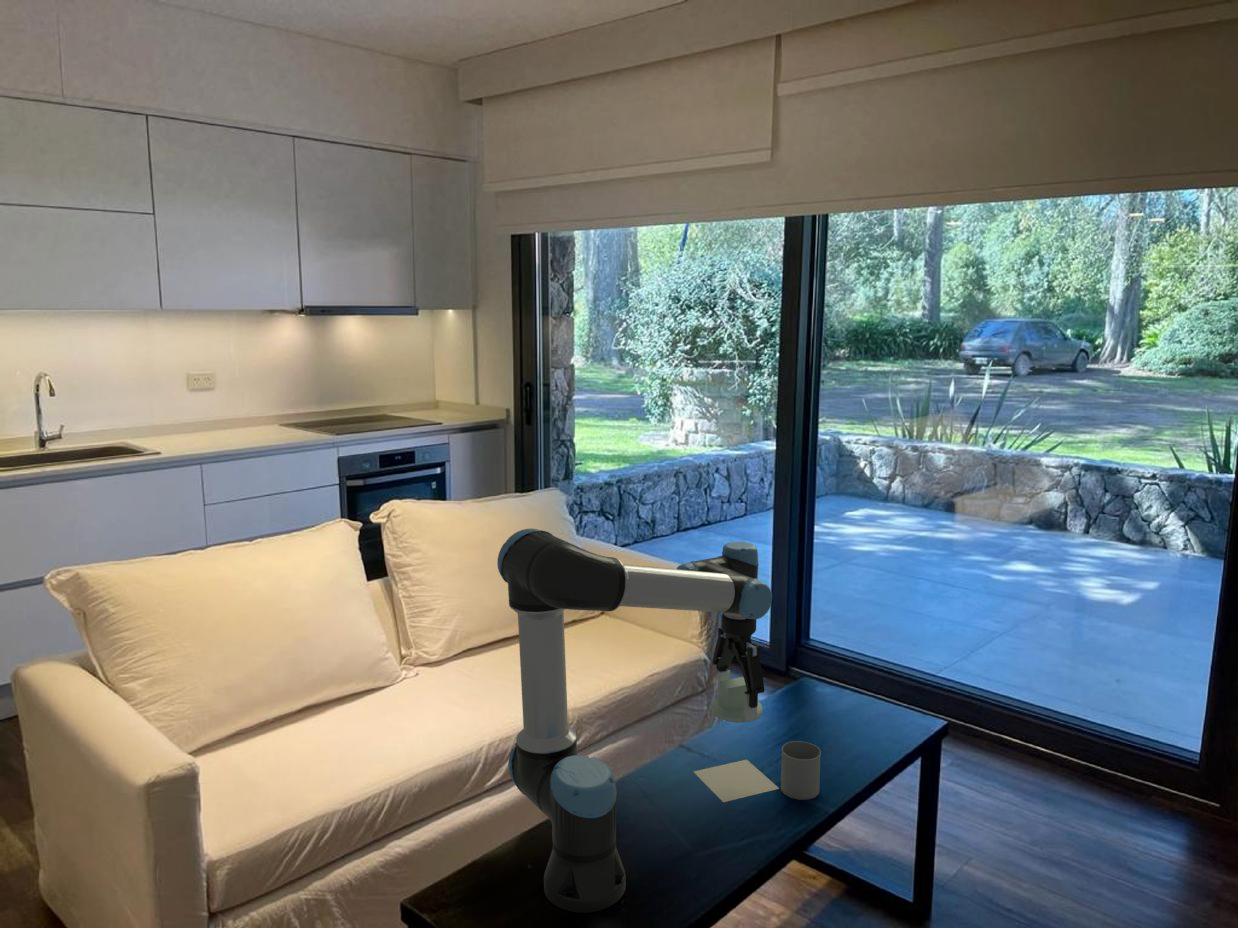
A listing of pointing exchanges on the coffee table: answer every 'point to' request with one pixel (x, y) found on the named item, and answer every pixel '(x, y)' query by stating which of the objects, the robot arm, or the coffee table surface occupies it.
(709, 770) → the mat
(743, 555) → the robot arm
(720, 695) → the lid
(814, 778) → the cup
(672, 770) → the coffee table surface
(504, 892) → the coffee table surface
